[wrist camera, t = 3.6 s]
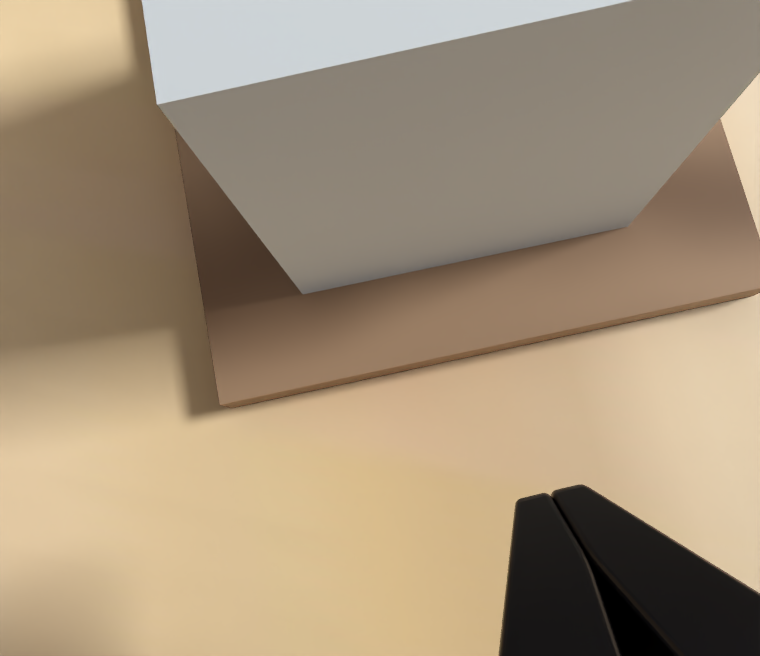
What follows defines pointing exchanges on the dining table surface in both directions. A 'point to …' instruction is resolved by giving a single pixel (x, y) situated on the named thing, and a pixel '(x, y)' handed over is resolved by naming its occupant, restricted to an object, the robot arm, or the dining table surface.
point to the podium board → (464, 287)
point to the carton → (442, 118)
